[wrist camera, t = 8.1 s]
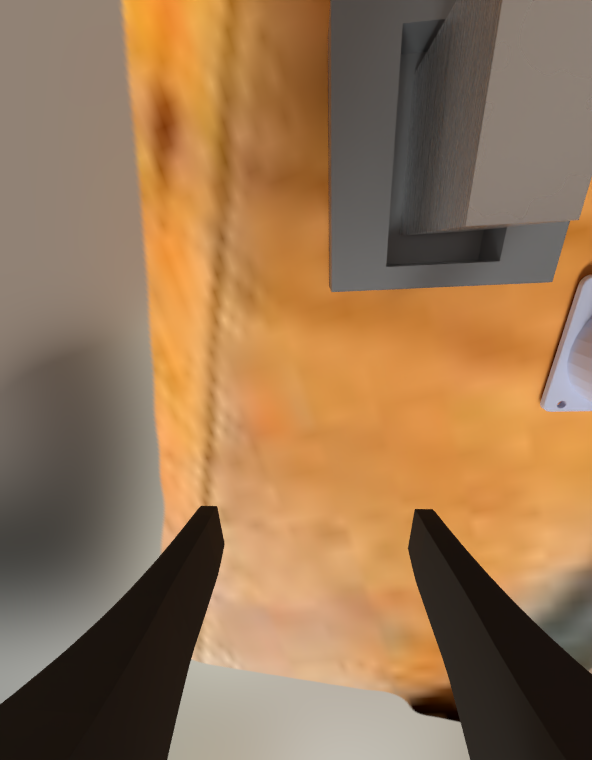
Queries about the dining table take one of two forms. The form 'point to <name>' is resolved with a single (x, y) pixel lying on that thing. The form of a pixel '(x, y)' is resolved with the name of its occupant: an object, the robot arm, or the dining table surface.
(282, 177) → the dining table surface
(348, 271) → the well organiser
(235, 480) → the dining table surface
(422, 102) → the long block
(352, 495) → the dining table surface
